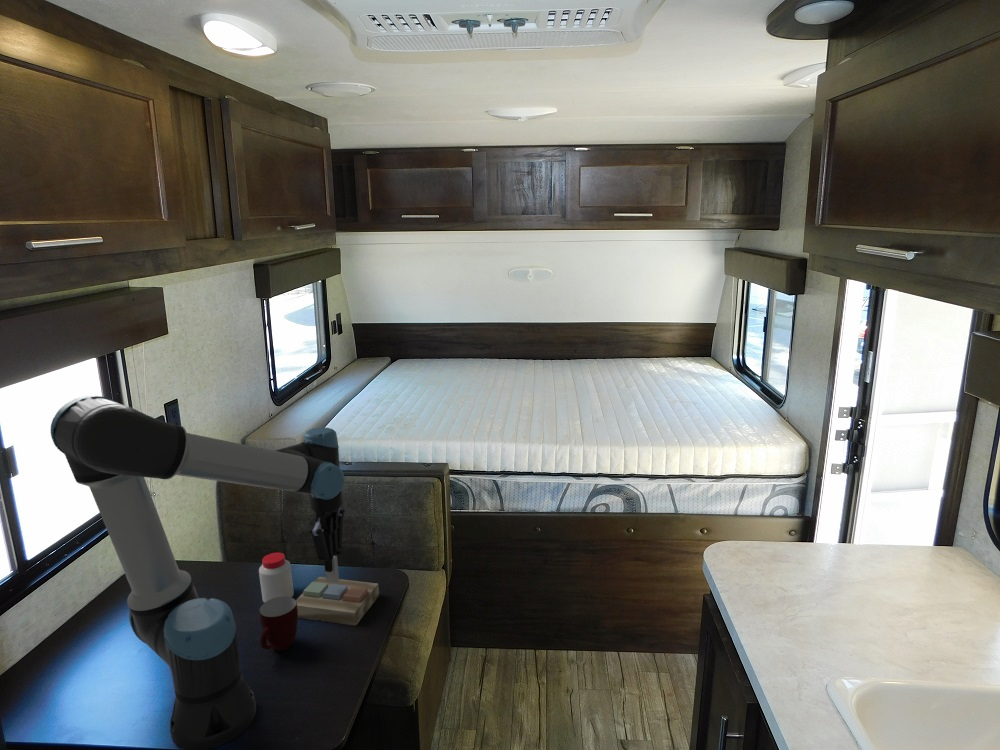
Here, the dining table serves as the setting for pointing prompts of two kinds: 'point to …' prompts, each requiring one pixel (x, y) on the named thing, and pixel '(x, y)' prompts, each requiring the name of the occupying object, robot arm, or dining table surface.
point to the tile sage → (315, 589)
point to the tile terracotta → (355, 594)
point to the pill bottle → (275, 577)
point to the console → (337, 604)
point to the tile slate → (335, 592)
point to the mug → (278, 623)
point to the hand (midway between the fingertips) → (332, 580)
